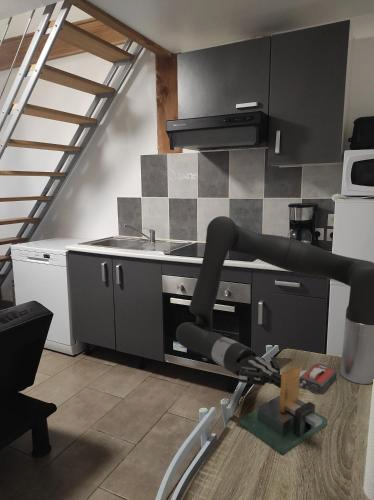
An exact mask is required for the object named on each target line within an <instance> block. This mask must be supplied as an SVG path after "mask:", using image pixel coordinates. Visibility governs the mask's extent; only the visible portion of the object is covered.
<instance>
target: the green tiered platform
mask: <svg viewBox="0 0 374 500" xmlns="http://www.w3.org/2000/svg"><path fill="white" fill-rule="evenodd" d="M298 405H299V406H301V407H299V408H298V409H296V410H295V415H294V414H292V413H290V412H288V411H286V412H285V413H283V412H281V411H280V410H279V406H280V395H277V396H276V397H274V398H272V399H270V400H269V401H266V402H265V403H263V404H261V405H259V406H257V409H254V410H253V411H251V412H249V413H247V414H245V415H243V416H241V417H240V419H239V425H241V426H242V427H243V428H245V429H246V430H247V431H249V432H250V433H251V434H253V435H254V436H256V437H257V438H258V439H260V440H261V441H262V442H264V443H265V444H266V445H268V446H269V447H270V448H272V449H274V450H275V451H276V452H277V453H279V454H281V455H284V454H286V453H288V452H289V451H290V450H292V449H293V448H295V447H297V446H299V444H301V443H302V442H304V441H305V440H306V439H308V438H310V437H311V436H312V435H314V434H315V433H317V432H318V431H320V430H321V429H323V428H324V427H325V426H327V425H328V418H327V417H325V416H324V415H322V414H321V413H319V412H316V404H315V403H313V402H311V401H308V402H305V401H303V400H301V399H299V398H298ZM309 412H311V413H313V414H315V415H317V416H318V417H320V418H322V423H321V424H320V425H318V426H317V427H314V426H312V425H310V424H309V423H307V422H305V421H304V416H305V415H306V414H308V413H309Z"/></svg>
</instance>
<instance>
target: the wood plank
mask: <svg viewBox="0 0 374 500" xmlns="http://www.w3.org/2000/svg"><path fill="white" fill-rule="evenodd" d="M300 371H301V368H300V367H298V366H296V365H295V366H293V367H291V368H289V369H287V370H284V371H282V372H281V388H280V393H279V394H280V395H279V396H280V406H279V410H280V411H281V412H283V413H285V412H286V411H288V412H290V413H292V414H294V415H295V410H296V409H298V408H299V407H301V406H299V405H298V399H299V390H300V387H299V380H300ZM304 421H305V422H307V423H309V424H310V425H312V426H314V427H317V426H318V425H320V424H321V423H322V418H320V417H318V416H317V415H315V414H313V413H311V412H309V413H308V414H306V415H305V416H304Z"/></svg>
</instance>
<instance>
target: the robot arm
mask: <svg viewBox="0 0 374 500" xmlns="http://www.w3.org/2000/svg"><path fill="white" fill-rule="evenodd" d="M204 244H205V245H204V251H203V256H202V257H203V258H202V261H201V262H202V263H201V266H200V269H199V273H198V277H197V279H196V282H195V285H194V286H195V287H194V289H193V293H192V297H191V300H190V303H189V309H188V310H189V312H190V313H191V314H193V315H195V317H196V320H195V321H196V322H189V321H185V322H183V323H181V324H179V325H178V327H177V329H176V330H175V331H176V332H175V337H176V340H177V342H178V344H179V345H181V346H182V347H183V348H185V349H188V350H190V351H192V352H195V353H198V354H201V355H203V356H205V357H206V358H208V359H210V360H212V361H214V362H215V363H216V364H217V365H219V366H220V367H222V368H224V369H225V370H227V371H228V372H230V373H232V374H234V375H236V376H238V381H239V382H240V383H244V384H249V385H257V386H265V385H266V384H268V385H274V386H276V387H277V388H279V389H281V375H282V373H281V367H280V365H279V363H278V361H277V358H276V357H275V356H273V357H270V359H265V358H264V357H261V356H258V355H257V354H256V352H255V350H254V349H253V348H251V347H249V346H246V345H245V344H243V343H240V342H238V341H237V340H234V339H231V338H228V337H226V336H224V335H221V334H219V333H217V332H213V311H214V309H215V308H214V307H215V305H216V302H217V297H218V294H219V293H218V292H219V289H220V285H221V284H220V283H221V278H222V271H223V268H224V264H225V260H226V258H227V255H228V253H229V252H232V253H233V252H234V253H238V254H243V255H246V256H249V257H252V258H253V259H254V258H255V259H257V260H259V261H261V262H264V263H266V264H268V265H270V266H273V267H276V268H279V269H282V270H285V271H287V272H290V273H291V272H292V273H294V274H298V275H303V276H313V277H322V278H327V279H331V280H334V281H336V282H338V283H341V284H344V285H346V286H349V288H350V289H349V297H348V305H347V307H346V310H345V319H344V320H345V321H344V329H343V330H344V332H343V343H342V352H341V362H340V370H339V371H340V372H339V373H340V375H341V376H342V378H344V379H346V380H348V381H349V382H353V383H355V384H361V385H369V384H373V383H374V382H373V379H374V262H373V261H370V260H365V259H360V258H359V259H358V258H353V257H348V256H345V255H340V254H336V253H333V252H330V251H328V250H325V249H324V248H321V247H318V246H315V245H313V244H310V243H307V242H304V241H301V240H298V239H294V238H291V237H287V236H284V235H283V236H282V235H276V234H266V233H259V232H255V231H253V230H250V229H247V228H245V227H242V226H241V227H240V226H239V225H237V224H236V223H235V221H234V220H233V219H232V218H230V217H229V216H224V215H220V216H216V217H214V218H213V219H212V220H210V222H209V223H208V225H207V227H206V236H205V243H204ZM280 373H281V374H280ZM372 382H373V383H372Z"/></svg>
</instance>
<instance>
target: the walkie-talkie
mask: <svg viewBox="0 0 374 500" xmlns="http://www.w3.org/2000/svg"><path fill="white" fill-rule="evenodd" d="M337 377H338V372H337V369H336V368H334V367H331V366H328V365H325V364H322V363H316V364H314V365H312V366H311V367H310V368H309V369H308V370H306V369H305V370H300V380H299V388H303V389H305V390H308V391H311V392H312V393H315V394H318V395H323V394H324V393H325V392H326V391H327V390H328V389H329V388H330V386H332V385H333V383H334V382H335V381H336V380H337Z"/></svg>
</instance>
